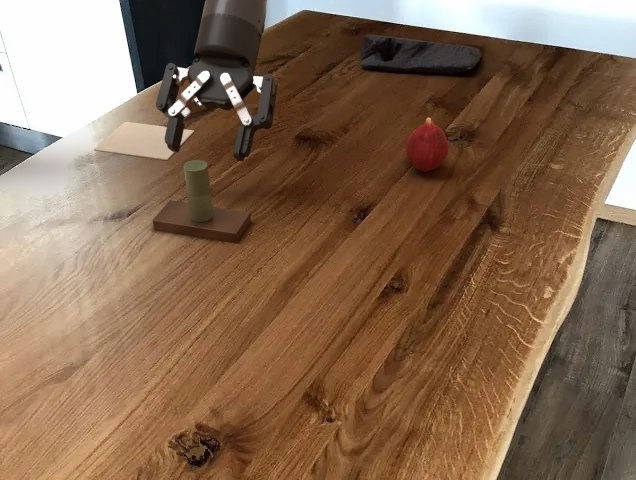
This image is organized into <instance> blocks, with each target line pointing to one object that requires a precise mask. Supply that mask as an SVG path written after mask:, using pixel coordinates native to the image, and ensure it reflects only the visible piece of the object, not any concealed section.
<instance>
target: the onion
mask: <svg viewBox="0 0 636 480" xmlns="http://www.w3.org/2000/svg"><path fill="white" fill-rule="evenodd" d="M405 152H406V156H407V158H408V160H409V161H410V163H411V164H412V165H413V166H414V167H415V169H417V170H419V171H421V172H423V173H427V172H429V171H431V170H434V169H437V168H438V167H440V165H441V164H443V162H444V161H445V160H446V159H447V156H448V153H449V143H448V138H447V136H446V134H445V132H444V131H443V130H442V129H441V128H440V127H439V126H438V125H436V124H435V123H434V121H433V119H432V118H431V117H426V119H425V122H424V124H421V125H420V126H418V127H417V128H416V129H415V130H413V131H412V132H411V133H410V134H409V137H408V138H407V141H406V146H405Z"/></svg>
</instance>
